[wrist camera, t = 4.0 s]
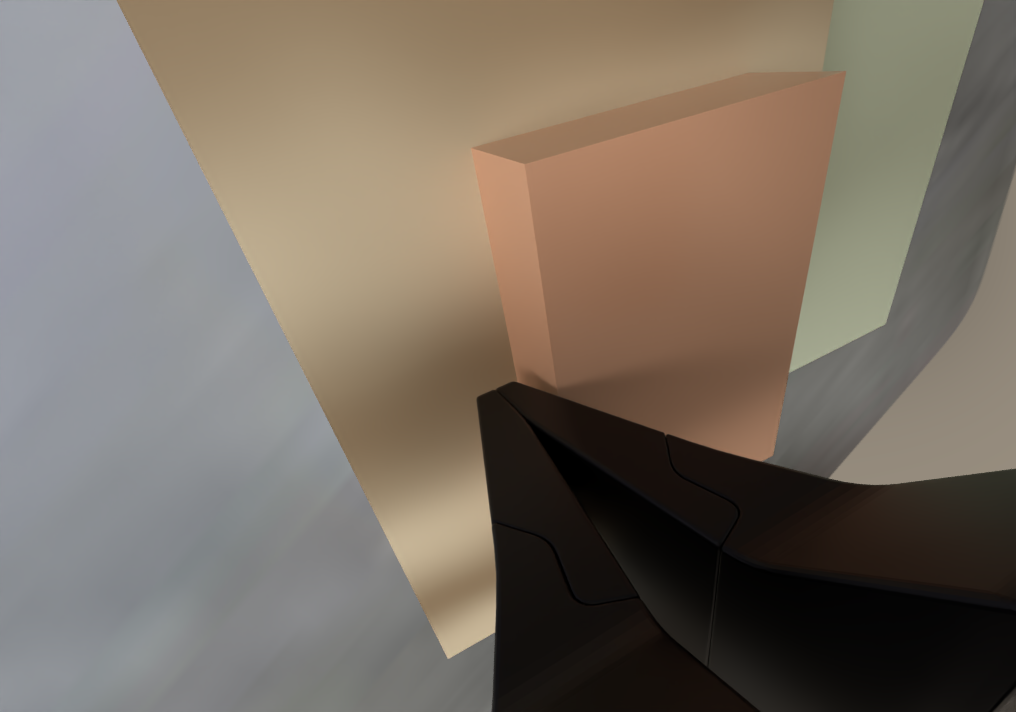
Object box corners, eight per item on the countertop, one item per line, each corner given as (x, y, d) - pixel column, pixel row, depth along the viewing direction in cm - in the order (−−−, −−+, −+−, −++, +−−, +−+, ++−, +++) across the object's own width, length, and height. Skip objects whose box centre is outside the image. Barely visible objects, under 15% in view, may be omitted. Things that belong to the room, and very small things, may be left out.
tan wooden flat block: (677, 422, 21) (754, 483, 18) (413, 555, 18) (448, 658, 14) (696, -176, 11) (880, -281, 8) (96, -119, 8) (-14, -260, 4)
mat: (879, 321, 24) (885, 324, 24) (686, 417, 21) (691, 421, 21) (1034, -206, 14) (1048, -212, 14) (714, -176, 11) (724, -183, 11)
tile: (716, 414, 15) (773, 455, 13) (541, 502, 13) (581, 561, 11) (748, 72, 10) (846, 71, 8) (470, 147, 8) (524, 163, 6)
